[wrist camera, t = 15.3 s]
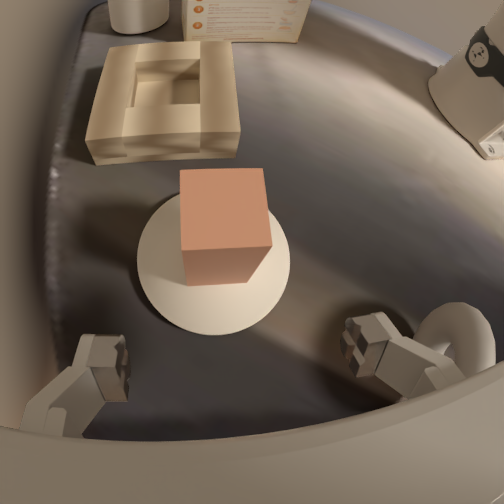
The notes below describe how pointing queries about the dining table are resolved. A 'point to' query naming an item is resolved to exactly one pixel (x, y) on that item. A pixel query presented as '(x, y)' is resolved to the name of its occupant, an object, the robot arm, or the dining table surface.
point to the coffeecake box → (243, 20)
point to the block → (223, 224)
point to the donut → (459, 336)
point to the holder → (165, 104)
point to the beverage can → (137, 15)
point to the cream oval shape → (208, 296)
